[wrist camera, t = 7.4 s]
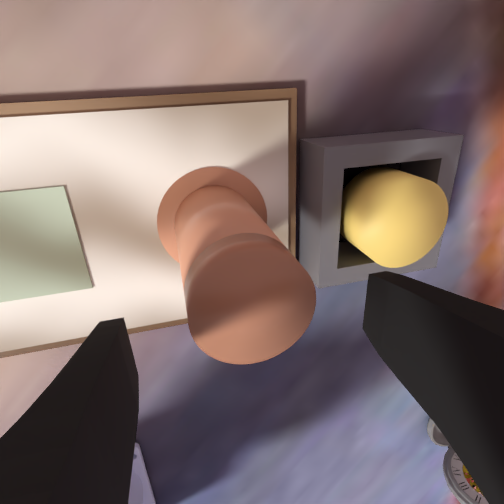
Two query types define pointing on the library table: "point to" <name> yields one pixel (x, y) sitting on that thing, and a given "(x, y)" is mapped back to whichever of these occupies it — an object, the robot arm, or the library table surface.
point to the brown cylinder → (239, 279)
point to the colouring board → (125, 202)
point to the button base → (331, 185)
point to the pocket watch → (455, 471)
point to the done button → (392, 215)
